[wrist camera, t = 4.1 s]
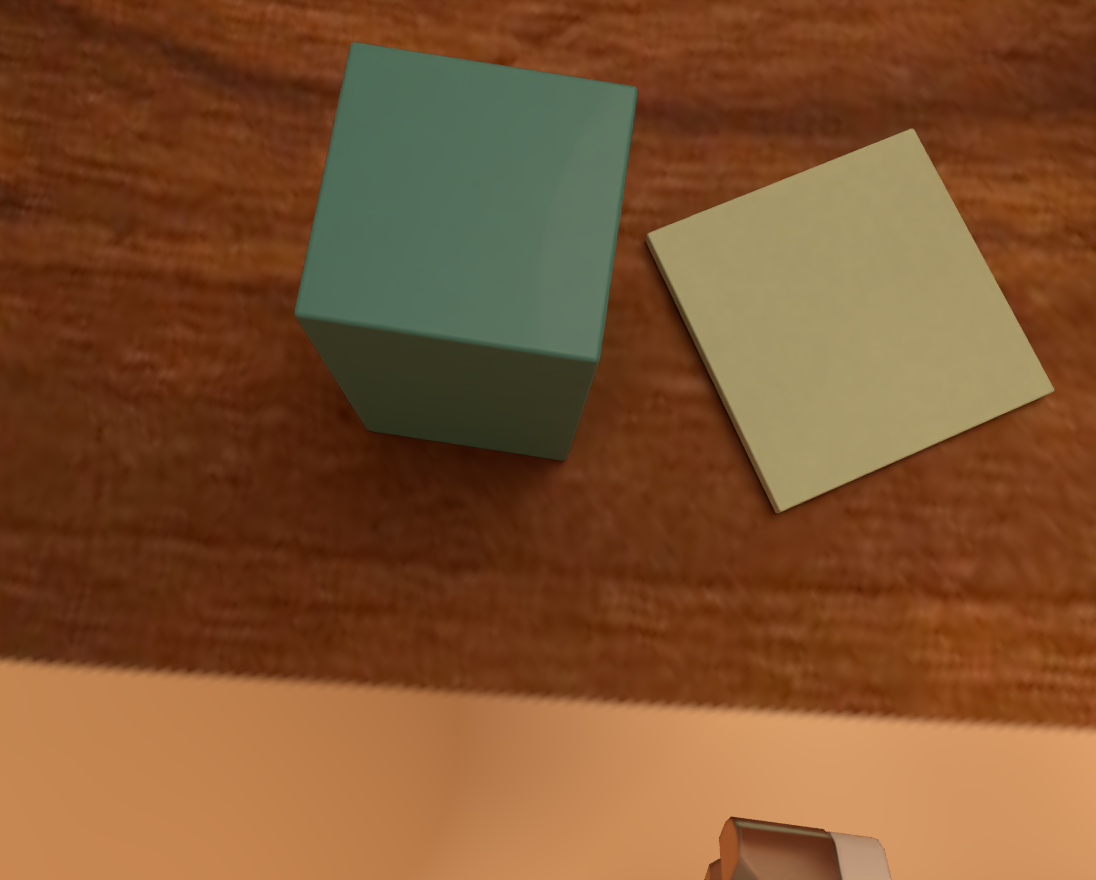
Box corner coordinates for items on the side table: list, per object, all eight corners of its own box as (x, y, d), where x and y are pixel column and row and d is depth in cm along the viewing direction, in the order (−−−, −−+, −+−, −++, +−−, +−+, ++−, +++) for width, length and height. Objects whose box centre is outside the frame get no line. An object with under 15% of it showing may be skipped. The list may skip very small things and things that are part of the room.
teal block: (566, 462, 23) (599, 363, 15) (365, 430, 23) (291, 315, 15) (594, 272, 23) (639, 84, 16) (401, 242, 23) (349, 39, 16)
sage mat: (775, 514, 23) (780, 512, 22) (644, 239, 24) (646, 233, 23) (1047, 395, 23) (1056, 390, 23) (906, 135, 25) (913, 126, 24)
